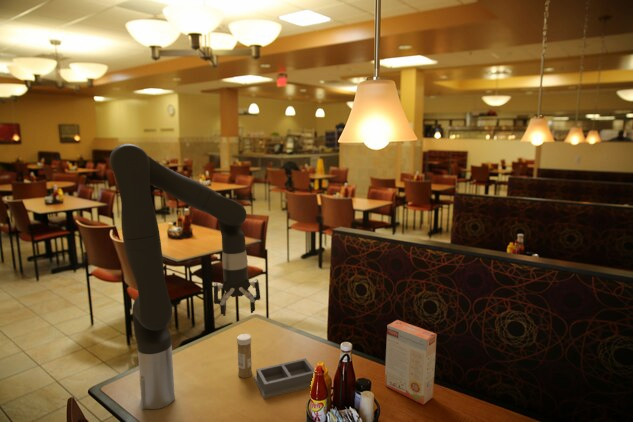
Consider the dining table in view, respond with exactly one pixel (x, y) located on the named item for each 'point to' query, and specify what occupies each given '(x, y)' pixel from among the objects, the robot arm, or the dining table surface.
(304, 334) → the dining table surface
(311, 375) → the caddy
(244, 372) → the sprinkles bottle
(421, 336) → the cracker box
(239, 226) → the robot arm
